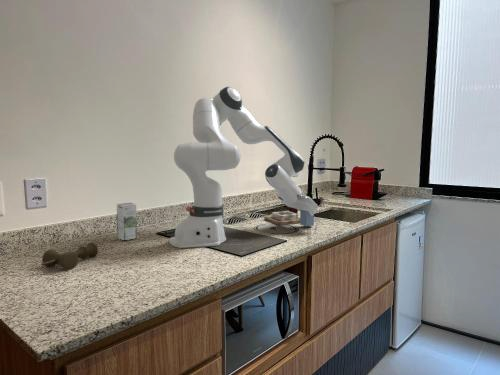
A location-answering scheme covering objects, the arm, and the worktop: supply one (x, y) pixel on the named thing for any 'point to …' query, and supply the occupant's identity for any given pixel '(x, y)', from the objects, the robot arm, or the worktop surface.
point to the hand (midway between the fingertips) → (308, 213)
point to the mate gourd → (292, 210)
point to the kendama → (68, 256)
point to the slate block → (306, 218)
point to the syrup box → (126, 221)
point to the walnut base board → (283, 218)
